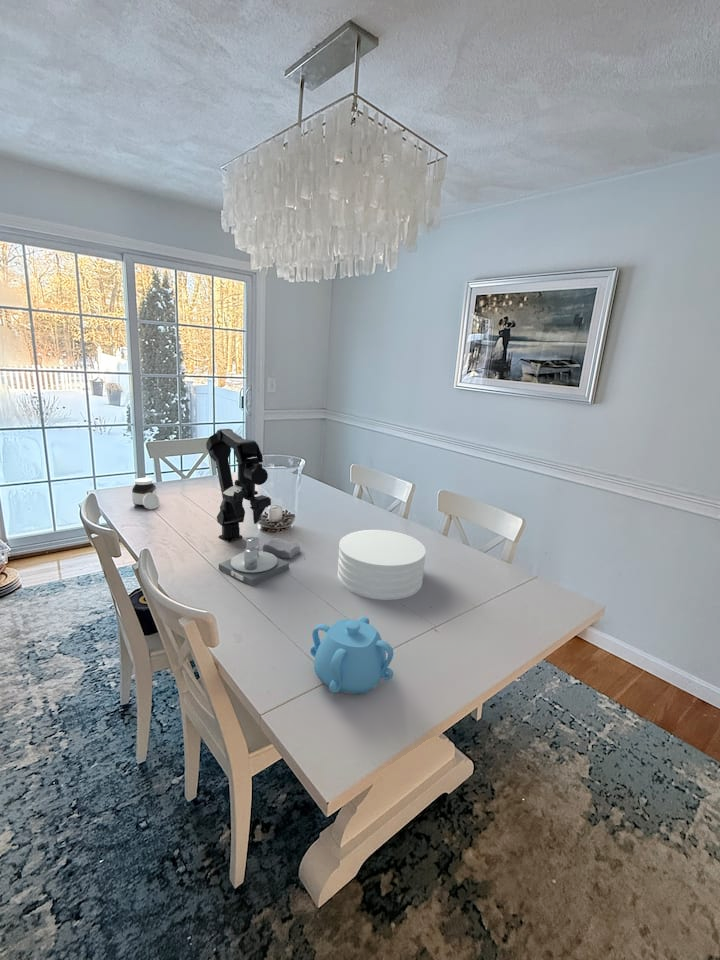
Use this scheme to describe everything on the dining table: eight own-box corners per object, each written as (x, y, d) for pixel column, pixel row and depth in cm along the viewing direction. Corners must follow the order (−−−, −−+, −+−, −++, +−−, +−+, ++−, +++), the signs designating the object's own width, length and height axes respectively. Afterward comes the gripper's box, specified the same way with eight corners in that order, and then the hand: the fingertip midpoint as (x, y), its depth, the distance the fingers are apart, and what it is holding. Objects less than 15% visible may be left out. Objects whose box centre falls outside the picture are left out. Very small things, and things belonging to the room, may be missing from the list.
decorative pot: (321, 709, 92) (324, 653, 88) (307, 659, 107) (309, 608, 103) (395, 696, 97) (401, 642, 93) (371, 650, 112) (376, 601, 108)
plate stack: (377, 552, 168) (380, 523, 165) (439, 581, 149) (443, 549, 146) (320, 574, 148) (321, 542, 145) (381, 610, 130) (385, 574, 126)
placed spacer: (241, 567, 142) (241, 550, 141) (251, 563, 146) (251, 546, 144) (250, 571, 140) (250, 554, 139) (259, 567, 143) (260, 550, 142)
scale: (217, 569, 146) (216, 561, 145) (256, 554, 159) (256, 546, 158) (250, 586, 137) (250, 577, 136) (288, 568, 150) (289, 560, 150)
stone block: (275, 548, 170) (259, 552, 160) (277, 535, 169) (262, 539, 160) (302, 556, 165) (287, 562, 156) (304, 544, 165) (290, 548, 155)
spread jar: (144, 500, 205) (142, 476, 202) (167, 503, 204) (165, 478, 201) (127, 508, 194) (125, 483, 190) (151, 511, 192) (150, 485, 189)
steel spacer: (243, 555, 150) (243, 539, 149) (253, 552, 154) (253, 536, 152) (251, 559, 148) (251, 542, 147) (261, 555, 151) (261, 539, 150)
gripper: (209, 475, 152) (210, 519, 156) (246, 487, 142) (246, 533, 146) (236, 470, 161) (236, 511, 165) (272, 481, 151) (271, 524, 155)
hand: (246, 520), depth 157 cm, fingers open, 9 cm apart
